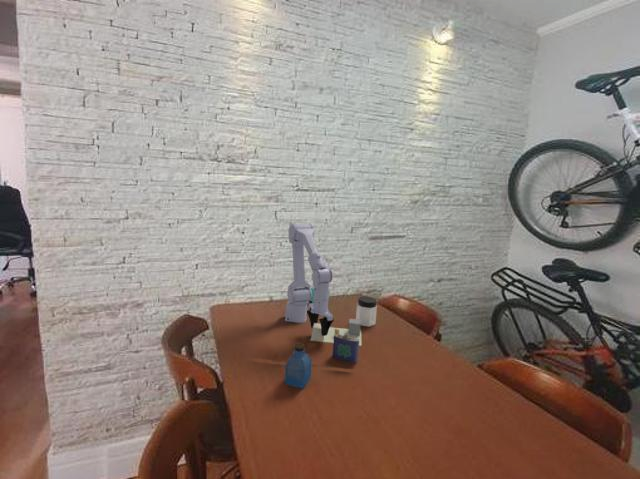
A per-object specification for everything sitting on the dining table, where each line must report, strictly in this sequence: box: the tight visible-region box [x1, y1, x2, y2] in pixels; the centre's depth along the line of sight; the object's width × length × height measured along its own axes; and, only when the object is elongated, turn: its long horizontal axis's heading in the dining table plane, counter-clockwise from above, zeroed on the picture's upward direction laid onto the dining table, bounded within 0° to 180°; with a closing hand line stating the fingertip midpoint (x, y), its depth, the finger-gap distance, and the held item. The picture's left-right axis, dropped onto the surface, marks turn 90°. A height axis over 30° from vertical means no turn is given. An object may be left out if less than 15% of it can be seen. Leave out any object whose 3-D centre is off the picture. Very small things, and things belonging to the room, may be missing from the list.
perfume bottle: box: [284, 342, 312, 390], centre depth 103 cm, size 6×6×12 cm
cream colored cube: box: [311, 322, 325, 342], centre depth 132 cm, size 5×5×5 cm
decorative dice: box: [310, 286, 331, 303], centre depth 175 cm, size 8×8×8 cm
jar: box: [355, 295, 378, 328], centre depth 149 cm, size 9×8×12 cm
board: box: [309, 326, 362, 347], centre depth 135 cm, size 20×14×4 cm
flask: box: [332, 333, 359, 363], centre depth 116 cm, size 9×3×11 cm, turn 68°
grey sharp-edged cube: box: [348, 318, 362, 336], centre depth 138 cm, size 5×5×5 cm
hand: (319, 331), depth 132 cm, fingers open, 7 cm apart
